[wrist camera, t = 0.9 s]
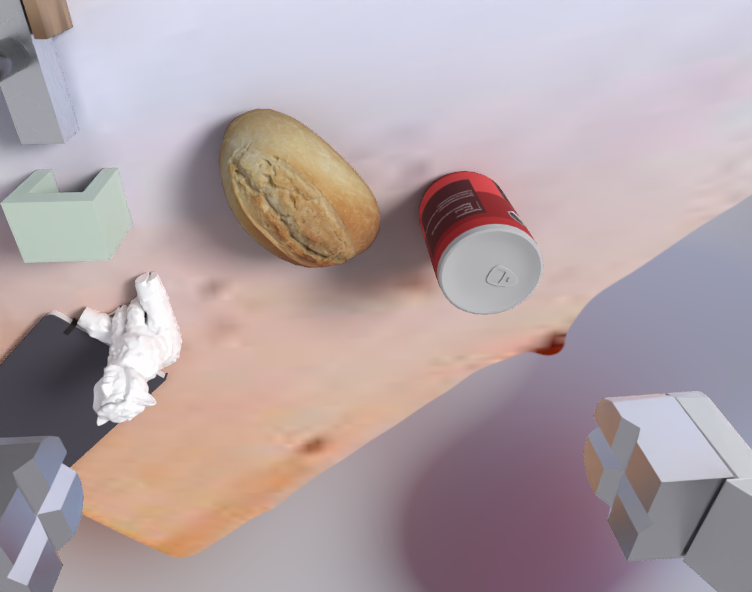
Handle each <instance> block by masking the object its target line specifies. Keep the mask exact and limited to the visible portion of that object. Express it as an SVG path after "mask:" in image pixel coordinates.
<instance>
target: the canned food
mask: <svg viewBox="0 0 752 592" xmlns="http://www.w3.org/2000/svg"><path fill="white" fill-rule="evenodd" d="M419 222H420V225H421V229H422V232H423V235H424V239H425V242H426V245H427V248H428V252H429V255H430V258H431V262H432V265H433V268H434V271H435V275H436V278H437V280H438V283H439V286H440V288H441V290H442V292H443V294H444V295H445V297H446V298H447V299H448V300H449V302H450V303H451V304H453V305H454V306H456V307H457V308H459V309H461V310H463V311H465V312H469V313H473V314H482V315H487V314H496V313H500V312H504V311H506V310H509V309H511V308H514V307H515V306H517V305H519V304H520V303H522V302H523V301H524V300H525V299H527V298H528V297H529V296H530V295H531V294H532V292H533V291H534V290H535V289H536V287H537V285H538V283H539V282H540V279H541V276H542V271H543V261H542V256H541V253H540V251H539V248H538V246H537V244H536V242H535V241H534V239H533V237H532V236H531V234H530V233H529V231H528V229H527V228H526V226H525V225H524V223H523V222H522V220H521V219H520V217H519V216H518V214H517V213H516V211H515V210H514V208H513V207H512V205H511V204H510V202H509V201H508V199H507V198H506V196H505V194H504V193H503V191H502V190H501V189H500V187H499V186H498V185H497V184H496V183H495V182H494V181H493V180H491V179H490V178H488V177H486V176H484V175H481V174H478V173H475V172H468V171H461V172H454V173H450V174H448V175H445V176H443V177H441V178H440V179H438V180H437V181H435V182H434V183H433V184H432V185H431V186H430V187H429V188H428V190H427V191H426V193H425V194H424V196H423V199H422V201H421V204H420V209H419Z"/></svg>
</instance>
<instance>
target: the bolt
mask: <svg viewBox="0 0 752 592" xmlns="http://www.w3.org/2000/svg"><path fill="white" fill-rule="evenodd" d="M0 87H1V90H2V92H3V95H4V98H5V101H6V104H7V106H8V109H9V112H10V115H11V117H12V120H13V123H14V126H15V128H16V131H17V134H18V137H19V140H20V142H21V144H65V143H66V142H67V141H68V140H69V139H70V138H71V137H72V136H73V135H75V134H76V133H77V132H78V131H79V127H78V123H77V120H76V116H75V113H74V110H73V106H72V103H71V100H70V96H69V93H68V89H67V86H66V83H65V79H64V76H63V72H62V69H61V66H60V62H59V59H58V56H57V52H56V49H55V45H54V42H53V39H52V37H51V38H49V39H34V36H33V32H32V29H31V26H30V23H29V20H28V16H27V13H26V10H25V7H24V4H23V0H0Z"/></svg>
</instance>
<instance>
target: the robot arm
mask: <svg viewBox="0 0 752 592" xmlns="http://www.w3.org/2000/svg"><path fill="white" fill-rule="evenodd" d="M594 418H595V420H596V422H597V423H598V425H599V426H598V427H597V428H596V429H595V430H594V431H592V432H591V433H590V434H589V435H588V436H587V439H586V443H585V448H584V462H585V470H586V473H587V477H588V480H589V482H590V485H591V487H592V489H593V491H594V494H595V495H596V496H597V497H598V498H600V499H601V500H602V501H604V502H605V503H606V504H608V505H609V506H610V507H611V509H610V513H609V517H608V523H609V525H610V527H611V529H612V531H613V533H614V535H615V537H616V539H617V541H618V543H619V545H620V548H621V550H622V552H623V554H624V556H625V558H626V560H627V561H638V560H652V559H653V560H654V559H672V558H684V559H683V561H684V562H685V563H686V564H687V565H688V566H689V567H690V568H691V569H692V570H694V571H695V572H696V573H697V574H698V575H699V576H700V577H701V578H703V579H704V580H705V581H706V582H707V583H708V584H709V585H710V586H712V587H713V588H714V589H715V590H716V591H717V592H752V450H751V449H750V447H749V446H748V445H747V444H746V442H745V441H744V440H743V439H742V438H741V436H740V435H739V434H738V433H737V432H736V430H735V429H734V428H733V427H732V425H731V424H730V423H729V422H728V420H727V419H726V418H725V417H724V416H723V414H722V413H721V412H720V411H719V410H718V408H717V407H716V406H715V405H714V403H713V402H712V401H711V400H710V399H709V397H708V396H706V395H705V394H703V393H701V392H700V391H690V392H677V393H666V394H650V395H636V396H623V397H611V398H603V399H602V400H601V401H600V402H599V403H598V404H597V406H596V409H595V412H594ZM66 454H67V451H66V449H65V447H64V445H63V444H62V442H61V440H60V438H59V437H56V436H32V437H9V438H0V592H52V591H53V589H54V586H55V584H56V581H57V579H58V576H59V574H60V571H61V569H62V566H63V564H62V562H61V559H60V556H59V554H58V551H59V550H60V549H61V548H62V547H63V546H64V545H65V544H66V543H67V542H68V541H70V540H71V538H73V537H74V536H75V533H76V530H77V528H78V525H79V522H80V519H81V516H82V508H83V500H84V496H83V489H82V483H81V481H80V478H79V476H78V474H77V472H76V471H74V470H72V469H71V468H69V467H67V466H66V465H64V464H62V462H63V460H64V458H65V456H66Z"/></svg>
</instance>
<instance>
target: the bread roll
mask: <svg viewBox="0 0 752 592" xmlns="http://www.w3.org/2000/svg"><path fill="white" fill-rule="evenodd" d="M219 167H220V172H221V177H222V185H223V188H224V192H225V195H226V198H227V201H228V203H229V205H230V207H231V210H232V211H233V213H234V215H235V217H236V218H237V220H238V221H239V223H240V224H241V225H242V227H243V228H244V230H245V231H246V232H247V233H248V234H249V235H250V236H251V237H253V238H254V239H255V240H256V241H257V242H258V243H259V244H260V245H262V246H263V247H264V248H266V249H267V250H268V251H270V252H271V253H272V254H274V255H276V256H278V257H279V258H281V259H283V260H285V261H288V262H290V263H292V264H295V265H300V266H304V267H308V268H309V267H327V266H331V265H338V264H344V263H345V262H346V261H347V259H351V258H353V257H354V256H356V255H358V254H360V253H362V252H363V251H365V250H366V249H367V248H368V247H370V246H371V244H372V243H373V241H374V239H375V238H376V236H377V234H378V231H379V226H380V212H379V208H378V205H377V202H376V199H375V197H374V195H373V193H372V191H371V190H370V188H369V187H368V185H367V184H366V183H365V182H364V180H363V179H362V178H361V177H360V176H359V174H358V173H357V172H356V171H355V170H354V169H353V168H352V167H351V166H350V165H349V164H348V163H347V162H346V161H345V160H344V159H343V158H342V157H341V156H340V155H339V154H338V153H337V152H336V151H335V150H334V149H333V148H332V147H331V146H330V145H329V144H328V143H326V142H325V141H324V140H323V139H322V138H321V137H319V136H318V135H317V134H316V133H314V132H313V131H312V130H310V129H309V128H308V127H307V126H305V125H304V124H302V123H301V122H299V121H298V120H296V119H294V118H292V117H290V116H287V115H285V114H283V113H280V112H277V111H275V110H271V109H255V110H252V111H249V112H246V113H244V114H242V115H240V116H238V117H237V118H235V119H234V120H233V121H232V122H231V123H230V124H229V126H228V127H227V129H226V132H225V135H224V138H223V141H222V145H221V149H220V156H219Z"/></svg>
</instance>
